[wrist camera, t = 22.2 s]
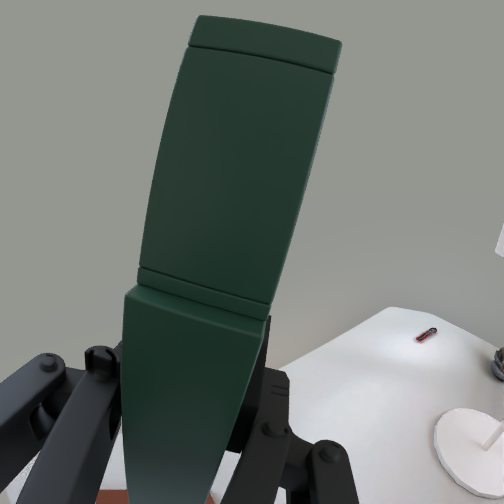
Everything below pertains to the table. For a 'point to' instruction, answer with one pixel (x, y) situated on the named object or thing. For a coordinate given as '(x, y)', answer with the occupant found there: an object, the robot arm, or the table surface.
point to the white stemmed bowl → (473, 444)
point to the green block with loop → (215, 244)
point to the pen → (426, 334)
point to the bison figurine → (499, 364)
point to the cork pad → (123, 497)
